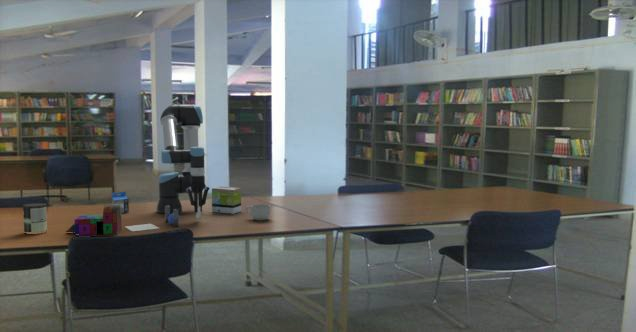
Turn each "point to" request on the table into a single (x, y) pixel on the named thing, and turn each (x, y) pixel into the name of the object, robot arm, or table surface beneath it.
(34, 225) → the coffee can
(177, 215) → the gate posts
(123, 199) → the label tape box
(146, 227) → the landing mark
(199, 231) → the table surface
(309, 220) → the table surface
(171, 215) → the ball
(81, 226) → the block puzzle
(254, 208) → the teacup
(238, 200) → the tea box
